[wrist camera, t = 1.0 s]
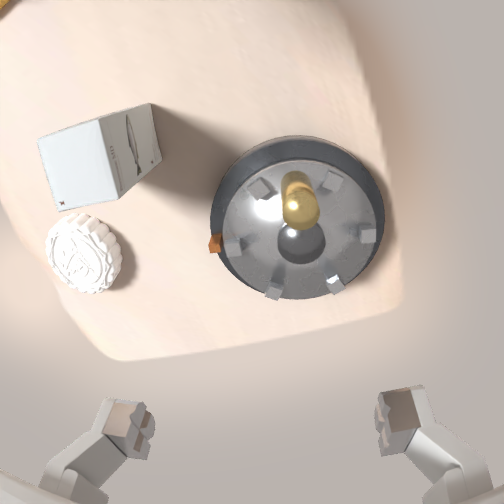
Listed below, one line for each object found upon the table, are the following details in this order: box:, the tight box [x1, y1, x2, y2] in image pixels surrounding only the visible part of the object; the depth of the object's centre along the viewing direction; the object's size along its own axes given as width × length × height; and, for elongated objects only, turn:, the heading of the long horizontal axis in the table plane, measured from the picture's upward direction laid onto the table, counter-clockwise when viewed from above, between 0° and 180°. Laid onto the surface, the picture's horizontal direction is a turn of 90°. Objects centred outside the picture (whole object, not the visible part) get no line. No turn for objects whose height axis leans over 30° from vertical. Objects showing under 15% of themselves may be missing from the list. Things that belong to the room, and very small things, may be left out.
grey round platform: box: [208, 135, 385, 294], centre depth 37 cm, size 20×20×6 cm
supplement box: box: [37, 103, 162, 212], centre depth 29 cm, size 7×7×13 cm
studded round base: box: [223, 157, 376, 301], centre depth 32 cm, size 17×17×9 cm
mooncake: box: [46, 213, 123, 294], centre depth 42 cm, size 12×12×4 cm
